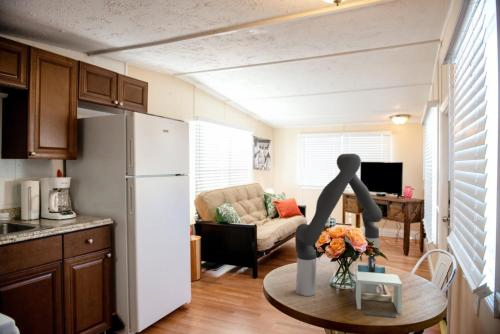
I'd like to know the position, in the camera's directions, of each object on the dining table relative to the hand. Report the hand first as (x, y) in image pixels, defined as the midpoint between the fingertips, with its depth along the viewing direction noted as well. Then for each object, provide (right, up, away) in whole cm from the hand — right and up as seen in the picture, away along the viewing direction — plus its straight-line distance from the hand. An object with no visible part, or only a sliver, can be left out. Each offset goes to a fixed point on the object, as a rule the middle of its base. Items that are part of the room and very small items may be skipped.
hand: (371, 278), depth 179 cm
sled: (-3, -3, -11) cm, 11 cm away
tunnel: (-7, -3, -28) cm, 29 cm away
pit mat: (-9, -3, -37) cm, 38 cm away
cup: (-5, -3, -17) cm, 18 cm away
